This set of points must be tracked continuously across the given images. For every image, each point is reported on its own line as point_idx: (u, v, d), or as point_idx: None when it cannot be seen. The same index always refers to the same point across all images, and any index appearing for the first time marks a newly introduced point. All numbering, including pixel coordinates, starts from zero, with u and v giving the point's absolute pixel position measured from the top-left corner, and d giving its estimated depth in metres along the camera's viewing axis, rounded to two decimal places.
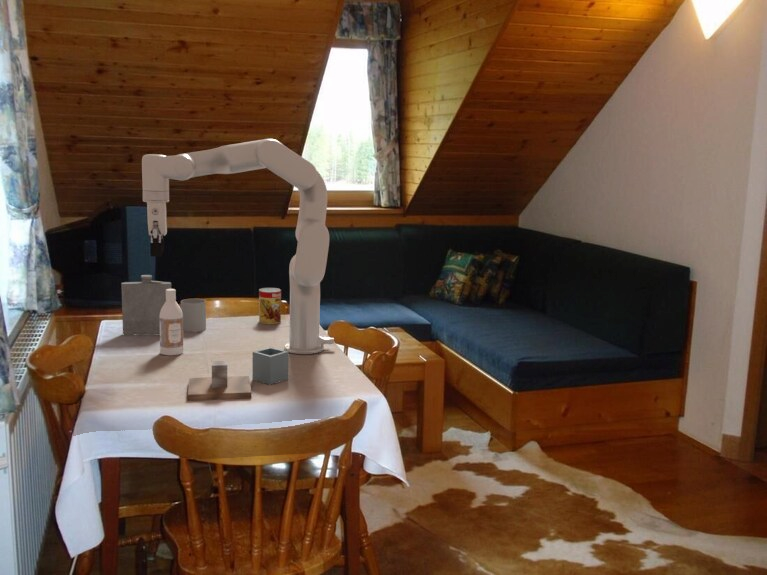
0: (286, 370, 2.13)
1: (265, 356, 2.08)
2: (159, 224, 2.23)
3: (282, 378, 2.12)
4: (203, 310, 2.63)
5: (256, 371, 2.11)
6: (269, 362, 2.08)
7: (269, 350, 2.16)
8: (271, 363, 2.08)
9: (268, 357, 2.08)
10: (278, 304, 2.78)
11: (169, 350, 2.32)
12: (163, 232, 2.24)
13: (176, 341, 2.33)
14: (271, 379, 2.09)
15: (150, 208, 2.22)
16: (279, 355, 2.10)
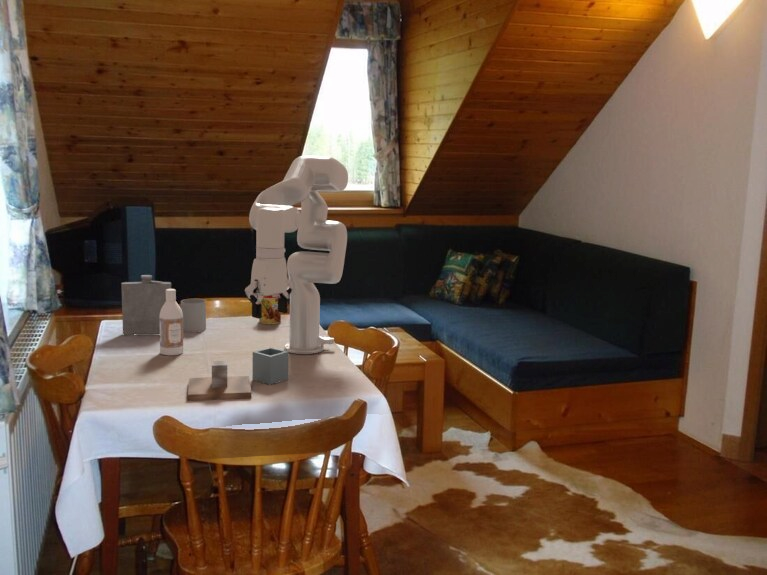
0: (286, 370, 2.13)
1: (265, 356, 2.08)
2: None
3: (282, 378, 2.12)
4: (203, 310, 2.63)
5: (256, 371, 2.11)
6: (269, 362, 2.08)
7: (269, 350, 2.16)
8: (271, 363, 2.08)
9: (268, 357, 2.08)
10: None
11: (169, 350, 2.32)
12: None
13: (176, 341, 2.33)
14: (271, 379, 2.09)
15: None
16: (279, 355, 2.10)
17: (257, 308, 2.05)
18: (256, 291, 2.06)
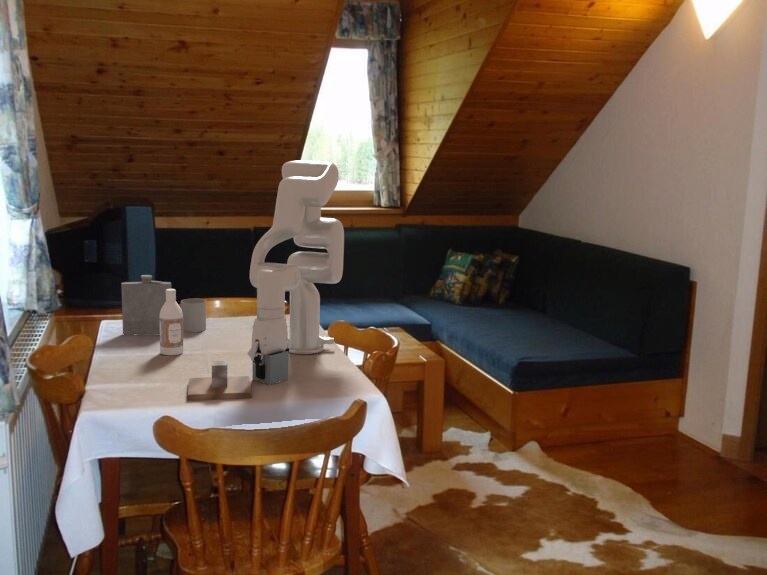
0: (286, 370, 2.13)
1: (265, 356, 2.08)
2: None
3: (282, 378, 2.12)
4: (203, 310, 2.63)
5: None
6: (269, 362, 2.08)
7: None
8: (271, 363, 2.08)
9: (268, 357, 2.08)
10: None
11: (169, 350, 2.32)
12: None
13: (176, 341, 2.33)
14: (271, 379, 2.09)
15: None
16: (279, 355, 2.10)
17: (261, 369, 2.09)
18: (257, 350, 2.09)
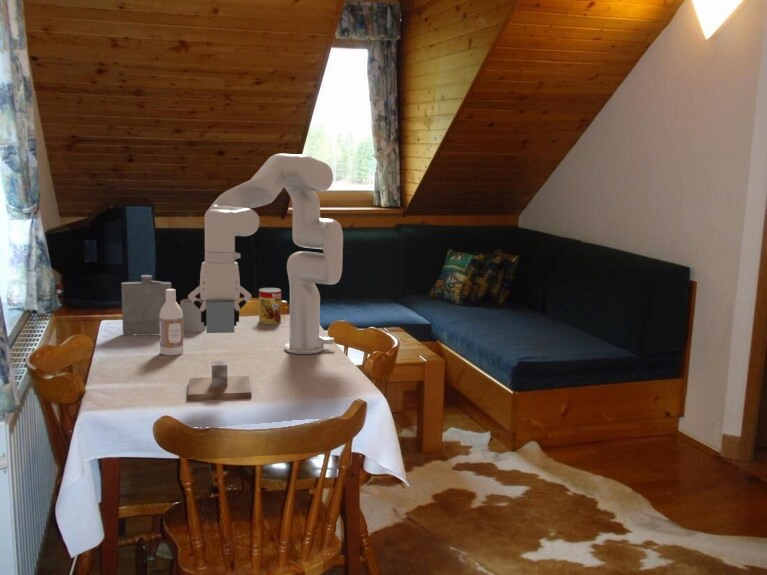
0: (231, 322, 1.97)
1: (206, 302, 1.96)
2: None
3: (225, 329, 1.97)
4: None
5: None
6: (206, 308, 1.95)
7: None
8: (207, 310, 1.95)
9: (206, 303, 1.95)
10: (278, 304, 2.78)
11: (169, 350, 2.32)
12: None
13: (176, 341, 2.33)
14: (208, 327, 1.96)
15: (237, 270, 1.97)
16: (220, 303, 1.95)
17: (202, 315, 1.97)
18: None
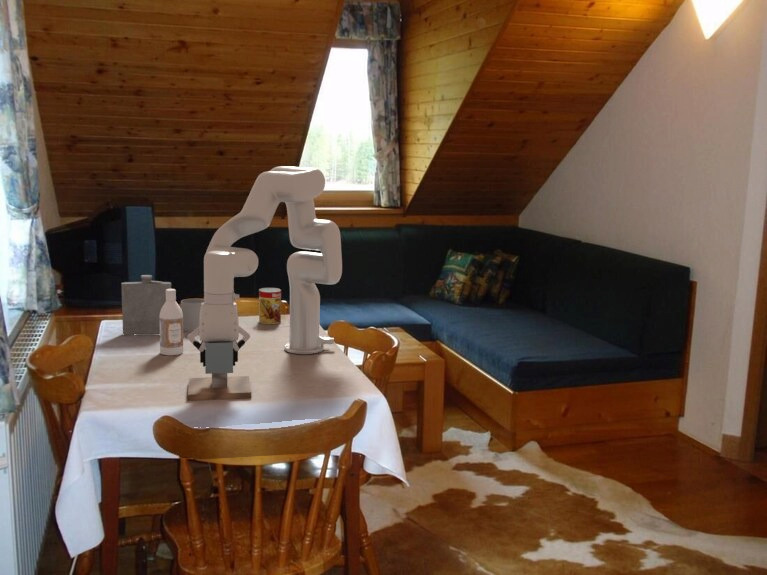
0: (230, 362, 1.98)
1: (205, 343, 1.98)
2: (238, 326, 2.02)
3: (224, 370, 1.98)
4: None
5: None
6: (205, 349, 1.97)
7: None
8: (206, 351, 1.96)
9: (205, 344, 1.97)
10: (278, 304, 2.78)
11: (169, 350, 2.32)
12: None
13: (176, 341, 2.33)
14: (207, 368, 1.97)
15: (236, 311, 1.98)
16: (219, 344, 1.97)
17: (201, 355, 1.99)
18: None
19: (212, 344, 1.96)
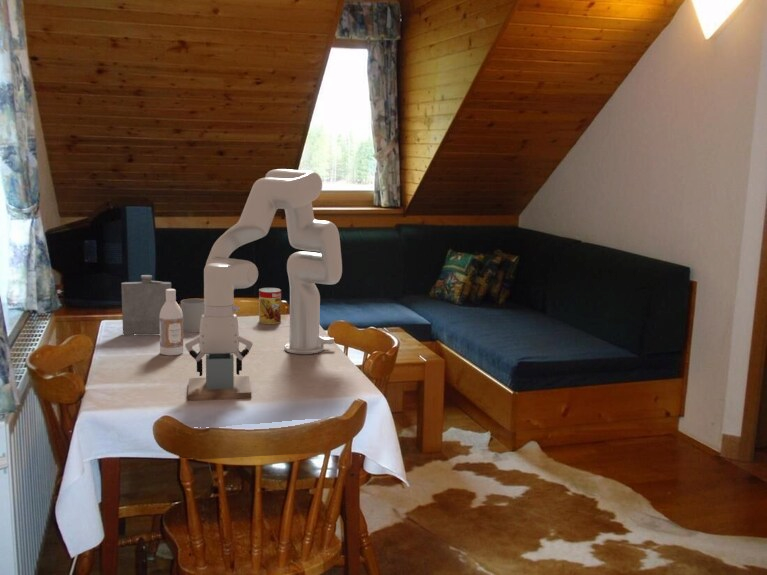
0: (230, 378, 1.99)
1: (206, 359, 1.99)
2: None
3: (224, 386, 1.99)
4: (203, 310, 2.63)
5: None
6: (206, 365, 1.98)
7: (228, 354, 2.04)
8: (207, 367, 1.97)
9: (206, 360, 1.98)
10: (278, 304, 2.78)
11: (169, 350, 2.32)
12: None
13: (176, 341, 2.33)
14: (208, 384, 1.98)
15: (236, 323, 1.99)
16: (219, 360, 1.98)
17: (198, 365, 1.99)
18: None
19: (213, 360, 1.97)
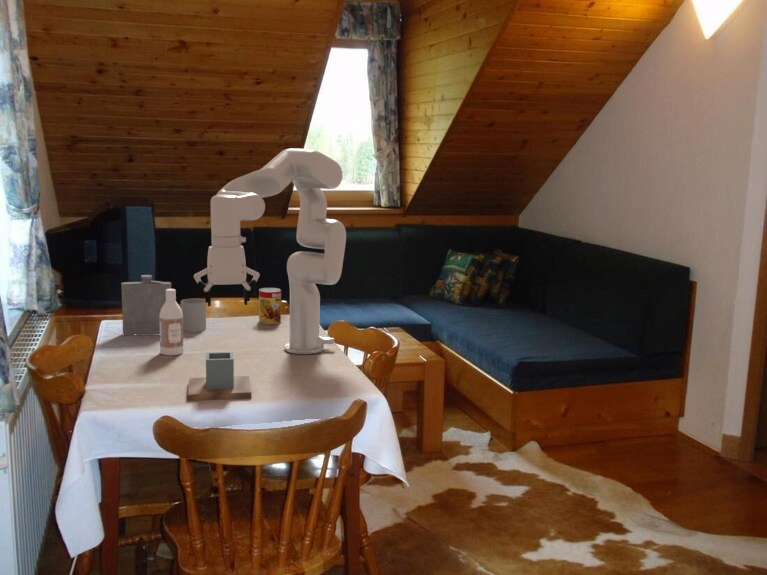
0: (230, 378, 1.99)
1: (206, 359, 1.99)
2: None
3: (224, 386, 1.99)
4: (203, 310, 2.63)
5: None
6: (206, 365, 1.98)
7: (228, 354, 2.04)
8: (207, 367, 1.97)
9: (206, 360, 1.98)
10: (278, 304, 2.78)
11: (169, 350, 2.32)
12: None
13: (176, 341, 2.33)
14: (208, 384, 1.98)
15: (243, 253, 2.03)
16: (219, 360, 1.98)
17: (206, 295, 2.03)
18: None
19: (213, 360, 1.97)
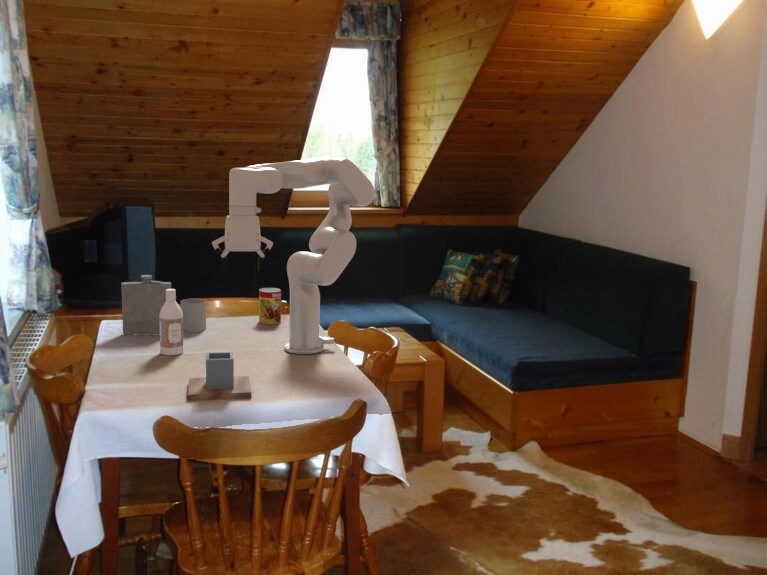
0: (230, 378, 1.99)
1: (206, 359, 1.99)
2: None
3: (224, 386, 1.99)
4: (203, 310, 2.63)
5: None
6: (206, 365, 1.98)
7: (228, 354, 2.04)
8: (207, 367, 1.97)
9: (206, 360, 1.98)
10: (278, 304, 2.78)
11: (169, 350, 2.32)
12: None
13: (176, 341, 2.33)
14: (208, 384, 1.98)
15: (258, 223, 2.18)
16: (219, 360, 1.98)
17: (223, 261, 2.19)
18: None
19: (213, 360, 1.97)
